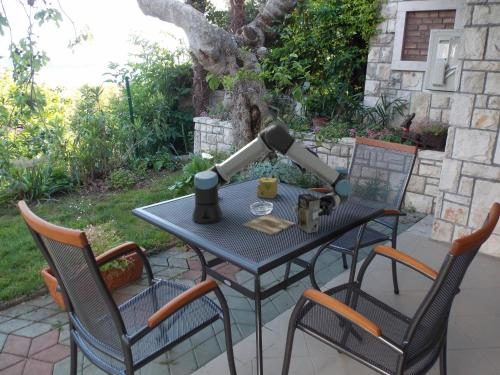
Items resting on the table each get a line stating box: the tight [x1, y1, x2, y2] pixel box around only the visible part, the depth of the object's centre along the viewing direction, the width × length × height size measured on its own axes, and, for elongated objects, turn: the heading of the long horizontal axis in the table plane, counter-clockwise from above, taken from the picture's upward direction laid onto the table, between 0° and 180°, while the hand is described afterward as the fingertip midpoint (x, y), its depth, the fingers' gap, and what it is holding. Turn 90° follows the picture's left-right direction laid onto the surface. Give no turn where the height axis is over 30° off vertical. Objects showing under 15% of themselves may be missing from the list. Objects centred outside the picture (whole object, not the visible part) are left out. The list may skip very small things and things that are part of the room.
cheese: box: [256, 176, 278, 199], centre depth 240 cm, size 10×11×10 cm
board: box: [242, 214, 296, 236], centre depth 196 cm, size 18×18×1 cm
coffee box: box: [297, 193, 320, 234], centre depth 188 cm, size 9×6×16 cm
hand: (303, 213), depth 185 cm, fingers closed on coffee box, 10 cm apart
